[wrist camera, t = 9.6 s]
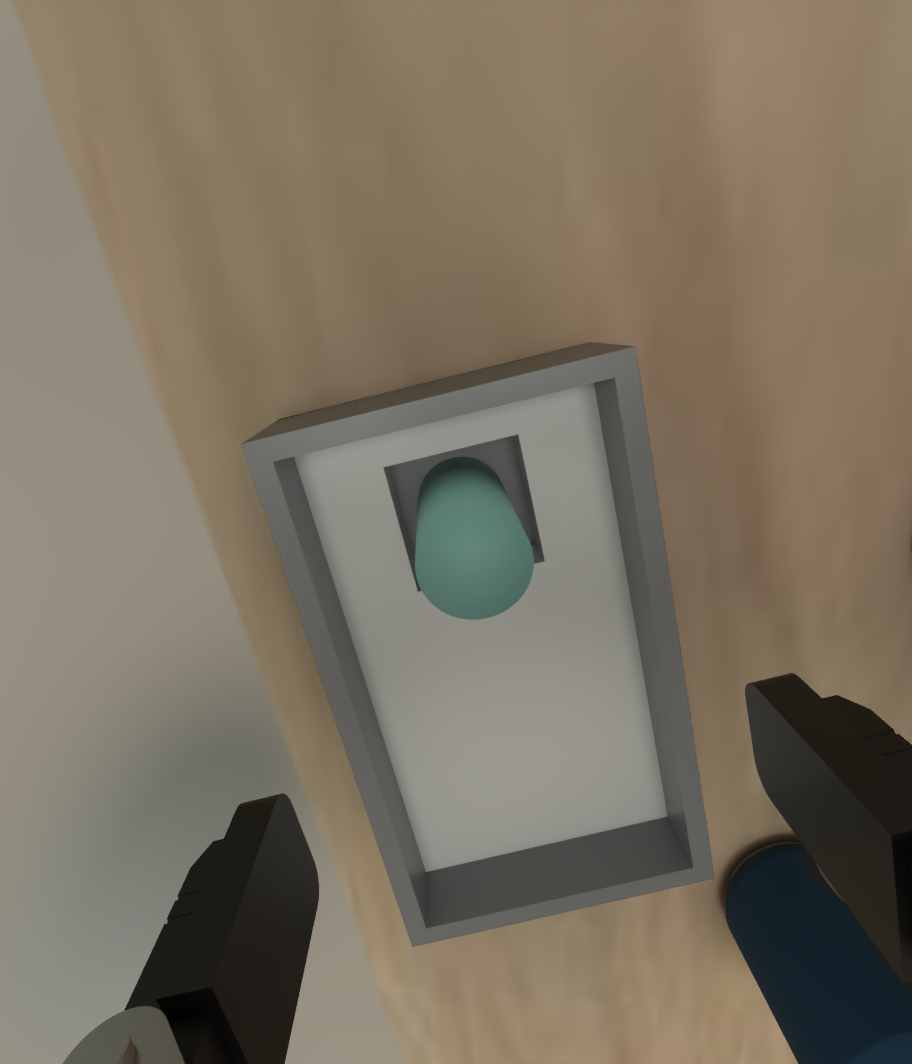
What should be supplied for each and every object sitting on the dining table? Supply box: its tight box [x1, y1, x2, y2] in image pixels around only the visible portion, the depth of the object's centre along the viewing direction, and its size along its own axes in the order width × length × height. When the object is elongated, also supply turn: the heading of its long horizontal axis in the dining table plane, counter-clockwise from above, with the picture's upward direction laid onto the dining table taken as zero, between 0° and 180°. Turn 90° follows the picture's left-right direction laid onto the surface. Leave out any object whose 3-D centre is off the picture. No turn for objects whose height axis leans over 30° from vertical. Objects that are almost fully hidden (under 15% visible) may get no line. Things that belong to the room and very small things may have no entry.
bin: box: [241, 342, 714, 947], centre depth 27 cm, size 13×22×6 cm, turn 13°
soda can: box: [726, 842, 912, 1064], centre depth 30 cm, size 7×7×12 cm
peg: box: [415, 457, 534, 620], centre depth 24 cm, size 4×4×8 cm
